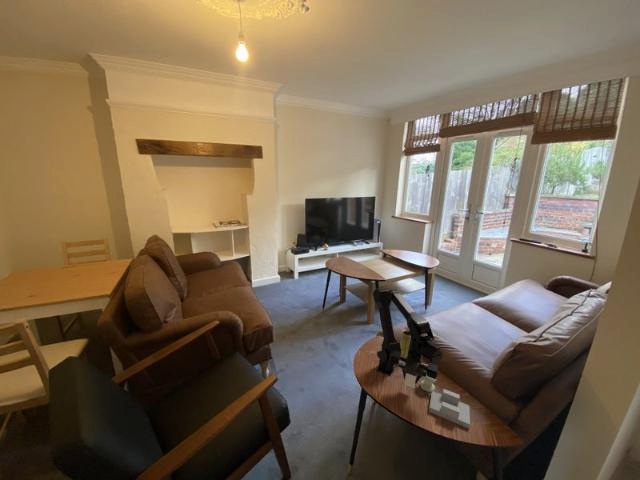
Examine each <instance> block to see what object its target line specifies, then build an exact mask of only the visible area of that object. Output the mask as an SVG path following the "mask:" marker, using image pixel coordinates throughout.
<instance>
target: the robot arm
mask: <svg viewBox="0 0 640 480" xmlns="http://www.w3.org/2000/svg"><path fill="white" fill-rule="evenodd" d="M372 296H373V301H374V303H375V304H376V306H377V307H378V310H379V316H380V323H381V330H382V335H383V340H382V343H381V350H378V351H377V352H376V356H377V358H378V359H379V362H378V366H377V368H376V369H377V371H378V372H381V373H383V374H386V375H388V376H392V373H394V370H395V365H397V366H398V368H400V369H401V372H402V376H403V379H404V381H405V377H406V373H407V374H410V375H413V376H417V377H416V381H415V385H417V384H418V382H419V381H420V380H421V378H423V377H422V376H424V377H426V375H427V376H428V377H430V378H433V379H438V373H439V367H438V364H439V363H440V362H441V361H442V359H443V357H444V355H443V351H442V350H441V347H440V345H438V344H436V343H434V342H433V341H435V337H434V333H433V331H432V327H431V324H430V322H429V320H427V319H426V318H425V317H424V316H423V315H421V314H419V313H417V312H416V311H415V310H414V309H413V307H411V305H410V304H409V303H408V302H407V300H406V298H405V297H404V296H403V295H402V294H401V291H400V290H398V289H389V288H387V287H382V288H376V289H374V290H373V291H372ZM391 303H392V304H394V305H395V307H396V308H397V310H398V311H399V313H401V314H402V316H403V317H404V319H405V320H406V327H407V328H408V331H409V332H407V334H408V335H410V336H411V337H410V343H409V349H408V355H407V357H406V358H404V357H401V355H402V353H401V351H402V350H401V347H400V343H401V341H398V340H396V338H395V331H394V327H393V320H392V315H391V310H390V309H391V307H390V306H391ZM423 335H424V336H423ZM423 357H424V358H425V359H426V360H428V361H429V362H428V363H427V364H426V363H424V362H422V361H423Z"/></svg>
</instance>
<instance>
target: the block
mask: <svg viewBox="0 0 640 480" xmlns="http://www.w3.org/2000/svg"><path fill="white" fill-rule="evenodd" d="M416 377H417V376H413V375H410V374H407V373H406V377H405V380H404V382H403V383H404V386H406V387H408V388H412V389H415V386H416V384H415V381H416Z"/></svg>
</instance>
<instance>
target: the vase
mask: <svg viewBox="0 0 640 480" xmlns="http://www.w3.org/2000/svg"><path fill="white" fill-rule="evenodd" d="M409 331H410V330H402V333H401V338H400V347H401V350H402V351H401V353H402V355H401V357H404V358H406V357H407V355H408V349H409V343H410V337H411V336H410V335H408V334H407V332H409Z"/></svg>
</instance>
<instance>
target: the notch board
mask: <svg viewBox="0 0 640 480" xmlns="http://www.w3.org/2000/svg"><path fill="white" fill-rule="evenodd" d="M430 393H431V394H430V401H429V402H430V403H429V407H428V408H429V409H428V412H429V413H431V414H434V415H435V416H438V417H441V418H443V419H445V420H447V421H450V422H453V423H454V424H457V425H459V426H462V427H464V428H466V429H468V430H469V429H470V425H471V416H470V415H471V414H470V405H469V404H466V403H464V402H462V401H460V399H461V398H460V394H458V393H455V392H453V391H450V390H449V389H444V388H443V389H442V393H439V392H436V391H435V390H434V391H432V392H430Z"/></svg>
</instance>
